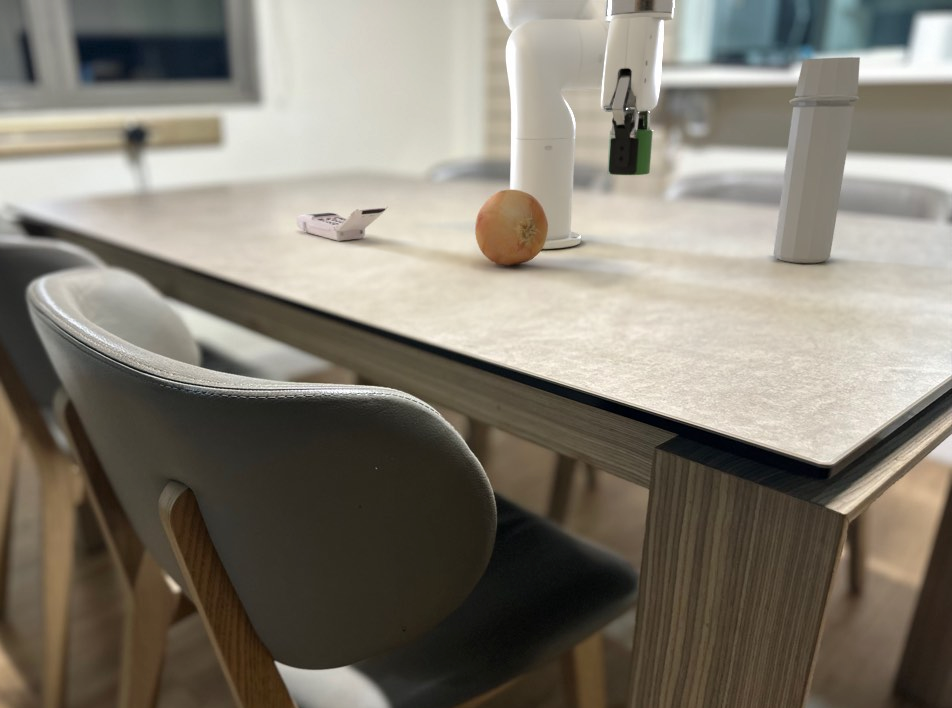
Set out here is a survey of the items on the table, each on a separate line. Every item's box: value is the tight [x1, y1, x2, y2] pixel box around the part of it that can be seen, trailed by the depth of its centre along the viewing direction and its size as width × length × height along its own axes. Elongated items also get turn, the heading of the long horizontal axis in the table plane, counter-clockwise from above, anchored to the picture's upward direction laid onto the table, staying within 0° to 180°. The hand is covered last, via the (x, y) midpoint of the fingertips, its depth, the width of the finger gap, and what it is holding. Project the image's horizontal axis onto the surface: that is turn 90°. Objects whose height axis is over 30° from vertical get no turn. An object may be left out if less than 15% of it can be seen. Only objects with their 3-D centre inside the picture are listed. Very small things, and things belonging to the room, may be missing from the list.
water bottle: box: [773, 56, 861, 264], centre depth 105 cm, size 9×8×25 cm
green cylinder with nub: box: [606, 129, 654, 176], centre depth 98 cm, size 5×5×6 cm
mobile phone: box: [296, 206, 389, 242], centre depth 136 cm, size 6×6×25 cm
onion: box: [474, 189, 548, 266], centre depth 108 cm, size 10×10×10 cm
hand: (628, 170), depth 99 cm, fingers closed on green cylinder with nub, 5 cm apart
